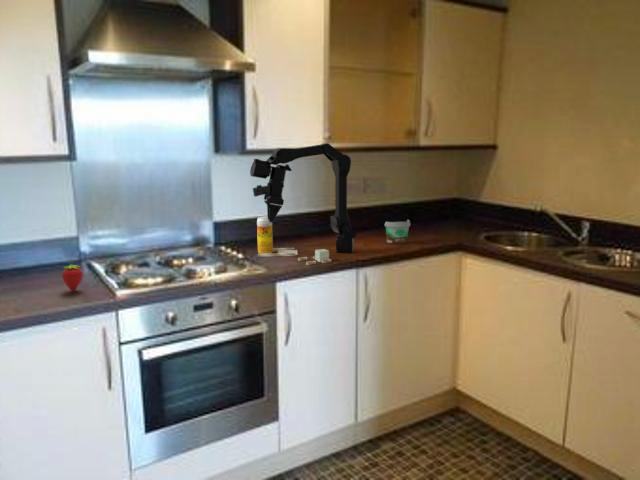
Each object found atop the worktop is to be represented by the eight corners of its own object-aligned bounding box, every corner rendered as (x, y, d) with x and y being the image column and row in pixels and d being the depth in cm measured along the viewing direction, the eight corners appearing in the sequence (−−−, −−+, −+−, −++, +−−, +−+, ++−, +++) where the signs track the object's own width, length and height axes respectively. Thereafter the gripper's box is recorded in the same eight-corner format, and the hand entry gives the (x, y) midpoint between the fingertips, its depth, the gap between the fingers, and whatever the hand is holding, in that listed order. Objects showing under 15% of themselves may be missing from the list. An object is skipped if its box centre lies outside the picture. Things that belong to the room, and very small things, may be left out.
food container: (391, 246, 238) (391, 223, 236) (384, 243, 244) (384, 221, 242) (415, 243, 243) (416, 221, 241) (407, 241, 249) (408, 219, 247)
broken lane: (321, 257, 218) (321, 255, 218) (331, 261, 210) (331, 259, 210) (298, 260, 214) (298, 257, 213) (307, 264, 206) (307, 262, 206)
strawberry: (84, 287, 178) (81, 257, 176) (84, 293, 172) (81, 261, 170) (64, 289, 176) (61, 258, 174) (63, 295, 169) (60, 263, 167)
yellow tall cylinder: (259, 255, 222) (258, 218, 219) (256, 252, 228) (255, 216, 225) (274, 254, 224) (273, 218, 221) (271, 251, 229) (270, 215, 227)
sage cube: (324, 259, 216) (324, 249, 215) (329, 261, 212) (329, 250, 212) (315, 260, 214) (315, 250, 213) (319, 262, 211) (319, 251, 210)
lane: (294, 250, 232) (294, 247, 232) (295, 255, 221) (295, 253, 221) (258, 251, 231) (258, 248, 231) (257, 256, 220) (257, 254, 220)
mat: (296, 250, 231) (296, 250, 231) (297, 254, 223) (297, 254, 223) (277, 251, 230) (277, 250, 230) (277, 255, 222) (277, 254, 222)
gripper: (254, 176, 220) (248, 214, 222) (257, 177, 202) (249, 219, 203) (282, 181, 222) (275, 219, 224) (287, 183, 204) (279, 224, 205)
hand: (269, 220), depth 214 cm, fingers open, 9 cm apart
